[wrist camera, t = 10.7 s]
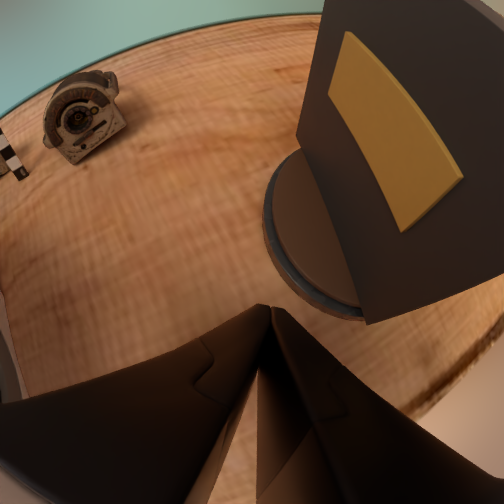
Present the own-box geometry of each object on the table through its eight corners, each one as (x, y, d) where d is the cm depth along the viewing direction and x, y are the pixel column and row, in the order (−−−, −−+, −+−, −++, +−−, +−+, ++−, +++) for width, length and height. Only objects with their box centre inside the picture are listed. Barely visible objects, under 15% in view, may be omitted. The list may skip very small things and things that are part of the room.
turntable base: (458, 267, 20) (468, 261, 18) (322, 359, 17) (329, 359, 16) (371, 136, 24) (376, 125, 22) (229, 182, 21) (229, 170, 20)
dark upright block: (307, 344, 16) (606, 230, 1) (248, 147, 20) (259, -71, 6) (464, 284, 17) (628, 182, 3) (393, 133, 22) (467, -12, 7)
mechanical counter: (2, 150, 16) (83, 99, 15) (45, 57, 19) (120, 14, 18) (52, 182, 23) (133, 150, 21) (78, 92, 26) (148, 60, 25)
